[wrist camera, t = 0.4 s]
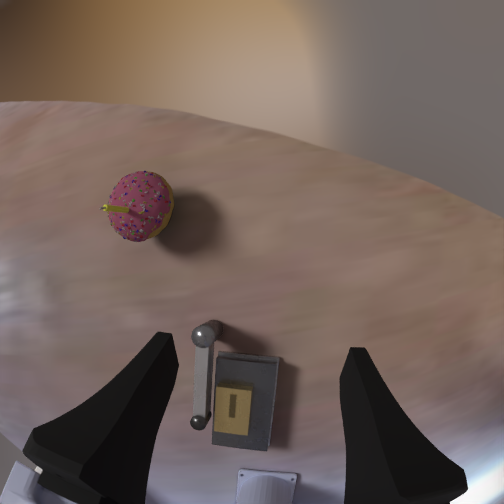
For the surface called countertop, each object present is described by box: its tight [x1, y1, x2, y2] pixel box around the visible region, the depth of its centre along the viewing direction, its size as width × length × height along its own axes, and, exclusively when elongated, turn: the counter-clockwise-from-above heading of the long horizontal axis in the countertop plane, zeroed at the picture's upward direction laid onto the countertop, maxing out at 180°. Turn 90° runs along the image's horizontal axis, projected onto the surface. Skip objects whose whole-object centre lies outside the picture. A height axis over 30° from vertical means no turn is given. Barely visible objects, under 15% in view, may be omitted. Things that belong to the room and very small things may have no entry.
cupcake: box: [100, 171, 174, 242], centre depth 34 cm, size 9×8×12 cm
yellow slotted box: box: [214, 382, 253, 436], centre depth 33 cm, size 6×4×2 cm, turn 175°
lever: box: [190, 320, 224, 430], centre depth 34 cm, size 12×2×6 cm, turn 175°
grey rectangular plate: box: [212, 351, 279, 451], centre depth 35 cm, size 13×7×2 cm, turn 175°
